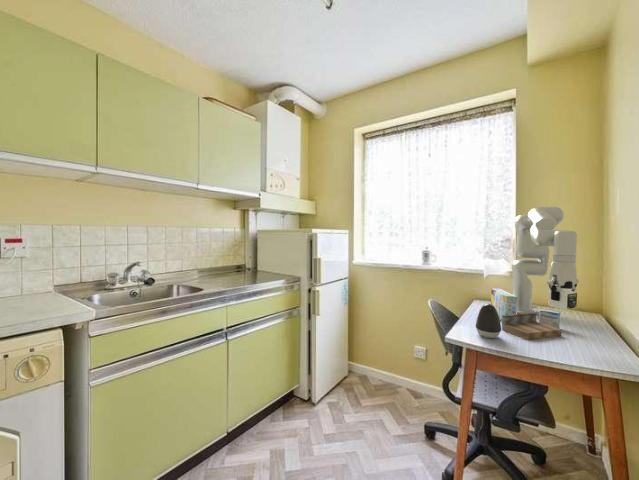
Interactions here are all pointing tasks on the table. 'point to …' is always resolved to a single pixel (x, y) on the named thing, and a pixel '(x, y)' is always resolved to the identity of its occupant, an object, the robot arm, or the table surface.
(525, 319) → the brown piece
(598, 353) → the table surface
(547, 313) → the medicine box
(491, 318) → the dark egg-shaped spouted container
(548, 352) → the table surface
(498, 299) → the snack box
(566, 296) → the medicine bottle
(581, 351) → the table surface
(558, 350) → the table surface
